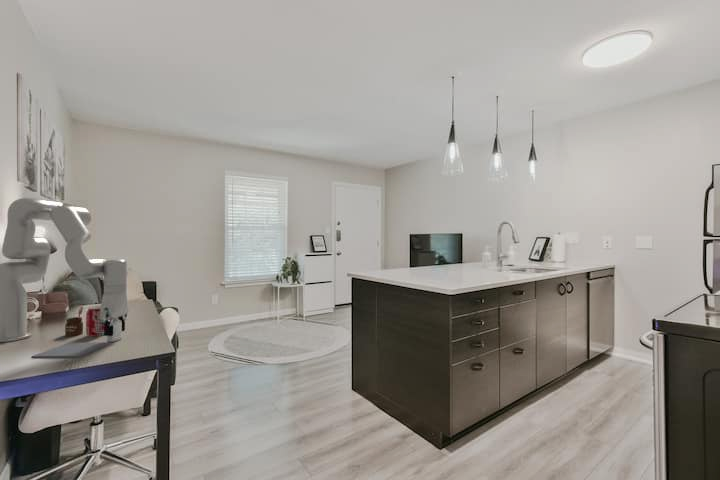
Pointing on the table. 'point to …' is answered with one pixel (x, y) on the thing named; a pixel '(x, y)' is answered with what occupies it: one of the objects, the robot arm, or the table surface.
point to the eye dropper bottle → (116, 331)
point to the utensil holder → (74, 325)
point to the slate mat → (72, 350)
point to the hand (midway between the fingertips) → (114, 332)
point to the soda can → (94, 322)
